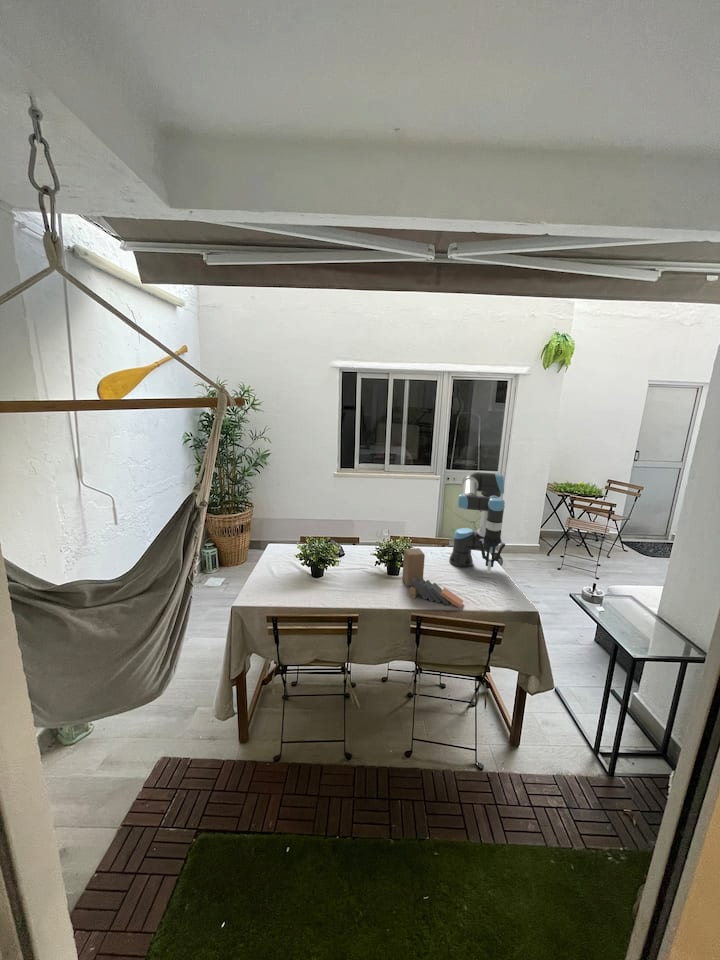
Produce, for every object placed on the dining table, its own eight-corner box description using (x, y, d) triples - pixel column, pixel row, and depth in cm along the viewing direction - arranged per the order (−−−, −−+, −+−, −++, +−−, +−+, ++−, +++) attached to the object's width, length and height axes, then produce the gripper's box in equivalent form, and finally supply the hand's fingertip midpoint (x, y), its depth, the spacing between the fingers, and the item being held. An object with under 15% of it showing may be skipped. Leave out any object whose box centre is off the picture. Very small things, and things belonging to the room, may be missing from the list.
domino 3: (438, 603, 221) (422, 586, 222) (440, 598, 226) (425, 581, 228) (440, 601, 220) (425, 584, 221) (442, 596, 225) (428, 579, 227)
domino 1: (425, 599, 223) (410, 582, 225) (427, 594, 229) (413, 577, 230) (427, 597, 223) (413, 580, 224) (430, 592, 228) (416, 575, 229)
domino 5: (459, 608, 217) (440, 594, 219) (461, 603, 222) (442, 589, 225) (461, 605, 216) (442, 592, 219) (463, 600, 221) (444, 587, 224)
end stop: (413, 591, 233) (414, 581, 232) (418, 592, 232) (419, 582, 230) (409, 597, 226) (410, 587, 224) (414, 599, 225) (415, 589, 223)
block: (406, 587, 237) (408, 555, 233) (401, 579, 247) (403, 548, 242) (423, 585, 239) (425, 554, 235) (417, 578, 249) (419, 547, 244)
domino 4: (446, 605, 219) (429, 589, 221) (448, 600, 225) (432, 584, 226) (448, 603, 218) (432, 587, 220) (451, 598, 224) (434, 582, 226)
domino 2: (431, 601, 222) (417, 584, 223) (433, 596, 228) (419, 579, 229) (433, 600, 221) (419, 582, 223) (436, 594, 227) (422, 577, 228)
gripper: (479, 529, 203) (474, 572, 209) (506, 533, 198) (501, 577, 204) (481, 524, 210) (476, 566, 215) (507, 528, 205) (502, 571, 210)
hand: (488, 572), depth 209 cm, fingers closed
